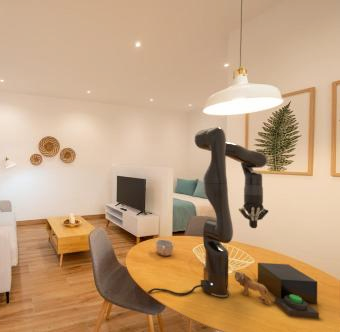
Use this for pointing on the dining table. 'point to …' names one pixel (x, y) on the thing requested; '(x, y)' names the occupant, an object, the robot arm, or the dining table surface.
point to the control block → (296, 308)
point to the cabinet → (287, 282)
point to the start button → (296, 299)
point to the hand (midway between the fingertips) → (253, 227)
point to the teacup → (164, 247)
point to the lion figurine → (252, 286)
